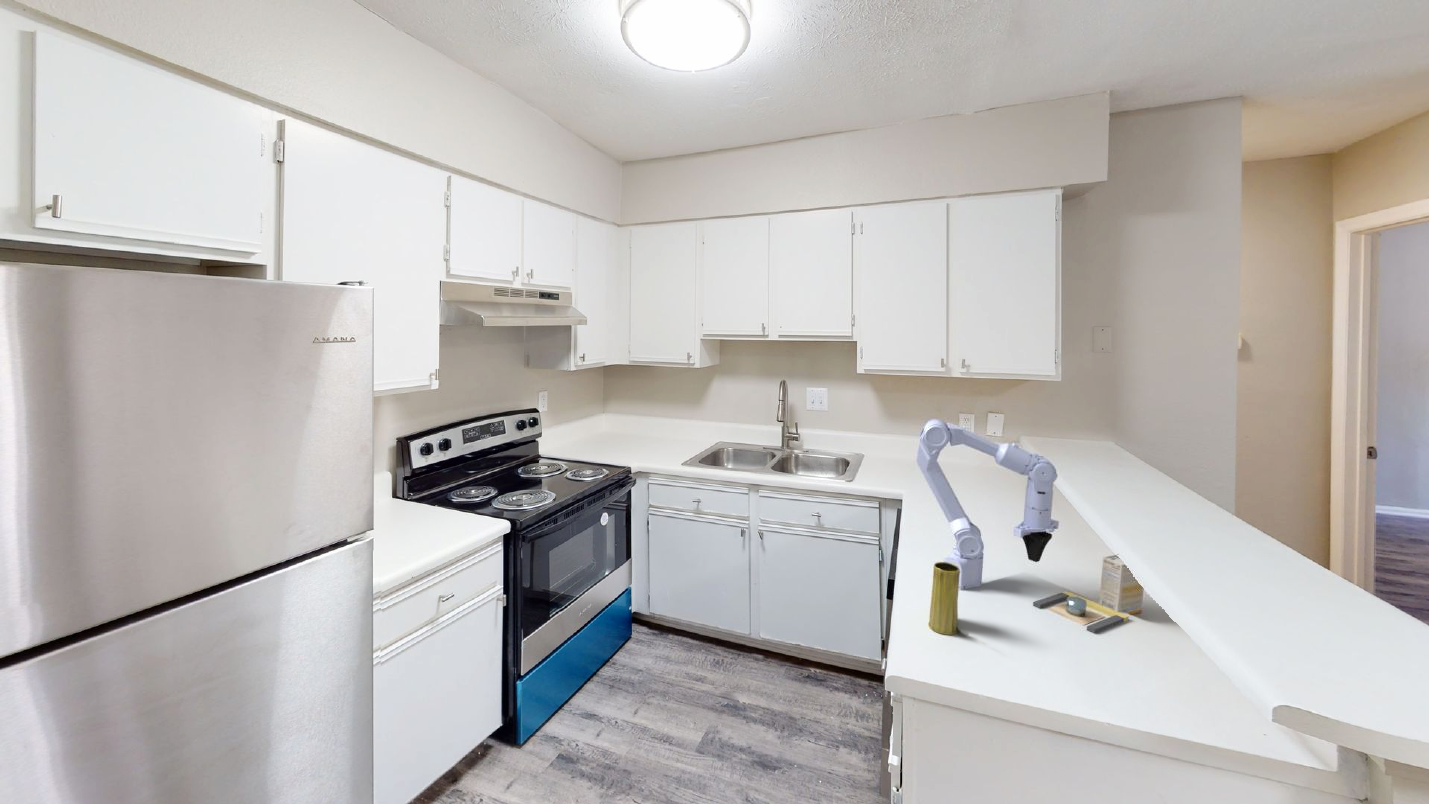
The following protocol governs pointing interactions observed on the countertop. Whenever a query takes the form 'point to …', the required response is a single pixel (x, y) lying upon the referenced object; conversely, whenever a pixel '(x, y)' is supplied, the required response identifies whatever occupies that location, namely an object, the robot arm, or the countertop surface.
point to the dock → (1098, 626)
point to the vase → (944, 598)
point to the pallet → (1083, 621)
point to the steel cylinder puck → (1076, 606)
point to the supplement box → (1120, 587)
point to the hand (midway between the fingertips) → (1033, 560)
